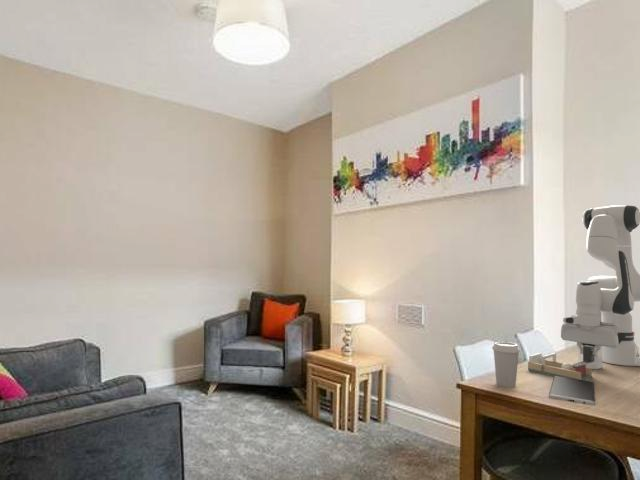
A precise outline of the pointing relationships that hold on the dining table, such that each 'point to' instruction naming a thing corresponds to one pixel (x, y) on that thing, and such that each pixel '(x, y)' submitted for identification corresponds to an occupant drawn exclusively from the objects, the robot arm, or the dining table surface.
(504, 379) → the coffee cup
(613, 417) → the dining table surface
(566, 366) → the ball
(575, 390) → the smartphone
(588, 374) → the pitch
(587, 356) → the kicker rod
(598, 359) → the jar
